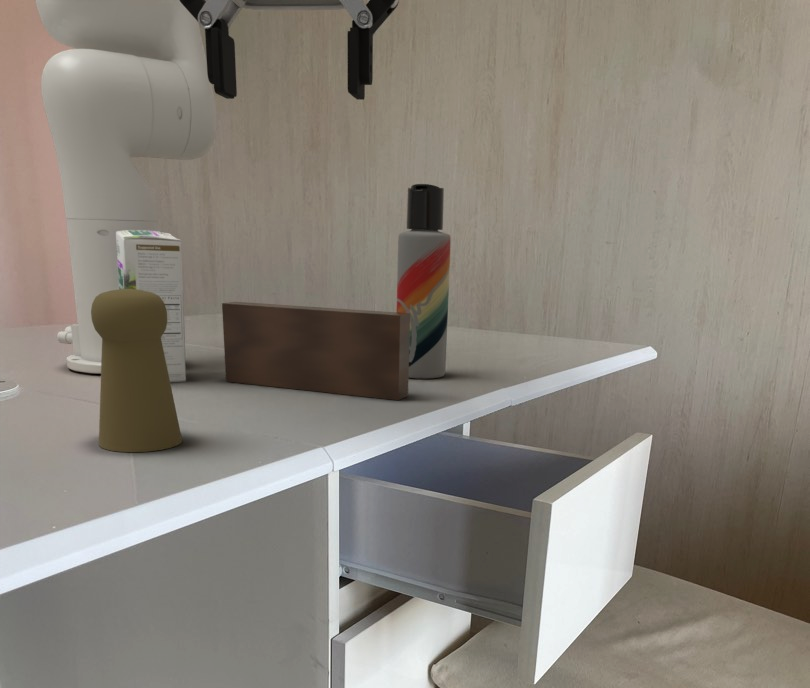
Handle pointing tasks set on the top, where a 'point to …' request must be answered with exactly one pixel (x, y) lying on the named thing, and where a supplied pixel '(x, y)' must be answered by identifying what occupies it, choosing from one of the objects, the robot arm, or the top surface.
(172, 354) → the syrup box
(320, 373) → the brown wooden block
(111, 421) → the cork
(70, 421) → the top surface
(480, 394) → the top surface
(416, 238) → the lotion bottle
